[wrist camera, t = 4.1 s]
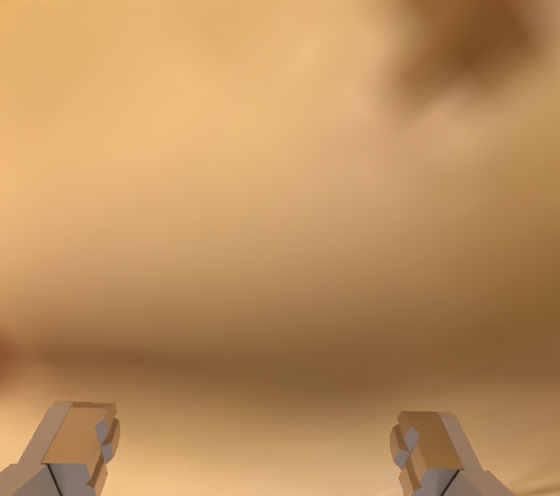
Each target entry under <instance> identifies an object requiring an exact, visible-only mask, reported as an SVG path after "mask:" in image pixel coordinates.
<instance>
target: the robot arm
mask: <svg viewBox="0 0 560 496" xmlns="http://www.w3.org/2000/svg"><path fill="white" fill-rule="evenodd" d="M116 412H117V409H116V405H115V403H92V402H72V401H55V402H54V403H53V404H52V405H51V406H50V408H49V409H48V411H47V413H46V414H45V416H44V418H43V420H42V421H41V423H40V425H39V427H38V428H37V430H36V432H35V434H34V435H33V437H32V439H31V441H30V442H29V444H28V446H27V448H26V449H25V451H24V453H23V455H22V456H21V458H20V460H19V462H18V463H17V464H10V465H9V466H8V467H6V468H5V469H4V470H3V471H1V472H0V496H100V495H101V492H102V489H103V487H104V484H105V481H106V478H107V475H108V473H107V469H106V464H107V463H108V462H109V461H110V460H111V459H112V458H113V457H114V455H115V452H116V449H117V446H118V442H119V437H120V422H119V420H118V419H116V418H115V415H116ZM397 420H398V423H399V424H398V425H396V426H395V427H393V429H392V431H391V434H390V448H391V453H392V457H393V460H394V462H395V463H396V464H397V465H398V466H399V467H400V468H401V473H400V476H399V480H400V483H401V486H402V490H403V493H404V496H516V495H515V494H514V493H512V492H511V491H510V490H509V489H508V488H507V487H506V486H505V485H504V484H503V483H501V482H500V481H499V480H498V479H497V478H496V477H495V476H494V475H493V474H491V473H490V472H489V471H484V470H483V469H482V467H481V465H480V463H479V461H478V459H477V457H476V455H475V453H474V451H473V449H472V447H471V445H470V443H469V441H468V439H467V437H466V435H465V433H464V431H463V429H462V427H461V425H460V423H459V421H458V419H457V418H456V416H455V415H454V414H453V413H450V412H418V411H402V412H401V413H399V415H398V417H397Z"/></svg>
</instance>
